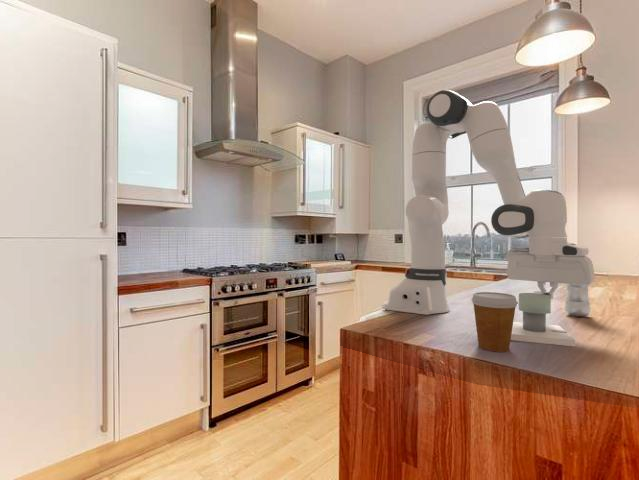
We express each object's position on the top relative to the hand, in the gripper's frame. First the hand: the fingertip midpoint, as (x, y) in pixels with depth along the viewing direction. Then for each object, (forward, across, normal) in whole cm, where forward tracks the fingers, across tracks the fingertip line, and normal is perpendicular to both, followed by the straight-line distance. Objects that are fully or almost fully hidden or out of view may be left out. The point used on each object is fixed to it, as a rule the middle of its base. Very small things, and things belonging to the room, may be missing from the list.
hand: (547, 298), depth 96 cm
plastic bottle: (+8, +1, +24) cm, 26 cm away
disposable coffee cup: (+8, -3, -28) cm, 29 cm away
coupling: (+2, -1, -5) cm, 6 cm away
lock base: (+8, 0, -10) cm, 13 cm away
